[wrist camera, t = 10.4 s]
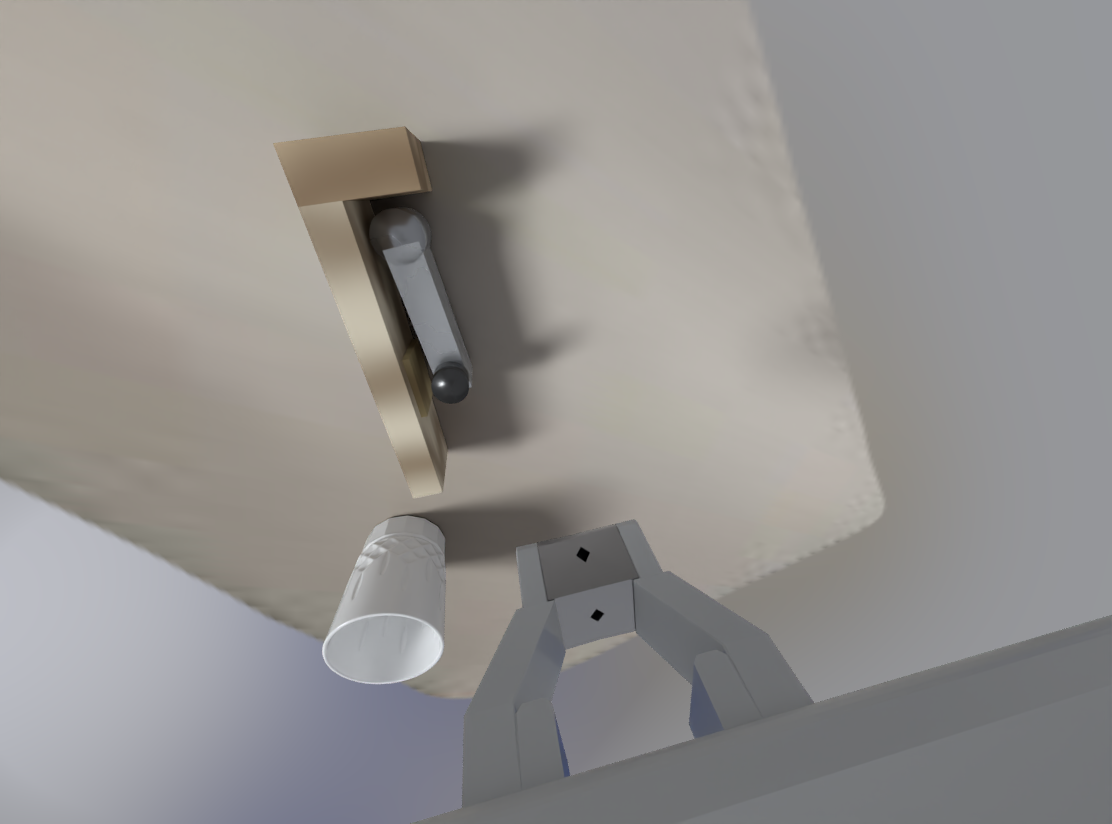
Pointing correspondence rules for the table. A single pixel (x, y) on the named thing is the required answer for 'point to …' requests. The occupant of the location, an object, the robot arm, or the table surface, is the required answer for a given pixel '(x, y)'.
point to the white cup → (392, 605)
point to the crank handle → (424, 298)
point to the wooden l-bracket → (371, 279)
